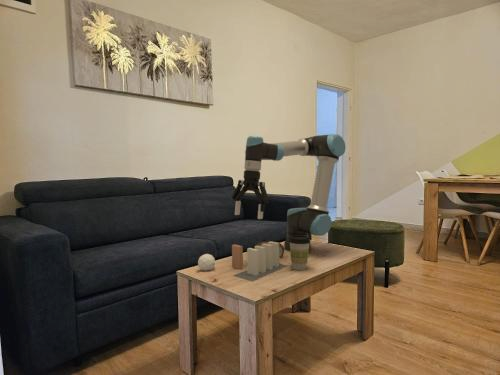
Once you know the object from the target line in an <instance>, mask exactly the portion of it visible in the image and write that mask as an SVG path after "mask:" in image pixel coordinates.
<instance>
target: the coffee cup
mask: <svg viewBox="0 0 500 375" xmlns="http://www.w3.org/2000/svg"><path fill="white" fill-rule="evenodd" d="M289 242H290V251H289V252H290V260H291V267H292V269H293V270H297V271H304V270H306V269H307V264H308V258H309V251H310V250H309V243H310V244H311V239H310V237H309V235H308V236H303V235H294V236H291V237H290V239H289Z"/></svg>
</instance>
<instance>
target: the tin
mask: <svg viewBox="0 0 500 375" xmlns="http://www.w3.org/2000/svg"><path fill="white" fill-rule="evenodd" d="M268 242H269V241H260V242H258V243H257V244H256V245H255V246H261V244H268ZM276 243H279V259H281V258H282V257H283V255H284V254H285V249H284V244H282V243H281V242H276Z"/></svg>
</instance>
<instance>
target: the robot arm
mask: <svg viewBox="0 0 500 375" xmlns="http://www.w3.org/2000/svg"><path fill="white" fill-rule="evenodd" d="M345 152H346V141H345V140H344V138H343V137H342V136H341V135H340V134H337V133H334V134H333V133H328V134H319V135H315V136H310V137H304V138H299V139H298V140H294V141H287V142H286V141H283V142H273V143H269V142H268V143H267V142H264V138H263V136H258V135H257V136H256V135H253V136H252V135H249V136H248V137H247V138H246V143H245V150H244V154H245V159H244V167H243V168H244V171H243V179H238V182H237V185H236V187H235V190H234V192H233V193H232V195H231V199H233V201H234V216H239V215H240V214H241V203H242V201H241V199H242V198H243V196H244V195H245V194H246V193H247V192H248V191H249V192H253V193H254V195H255V196H256V198H257V200H258V202H259V204H258V207H257V208H258V210H257V220H263V218H264V212H265V210H266V209H265V208H266V204H269V203H270V200H269V196H268V193H267V189H266V183H265V182H264V181H260V179H261V170H262V161H276V162H279V161H282V159H283V158H284V157H290V156H298V155H299V156H300V157H306V156H307V157H316V159H317V161H318V164H317V168H316V173H315V179H314V184H313V189H312V195H311V199H310V204H309V205H308V206H307V207H295V208H289V209H288V210H287V215H286V237H285V240H284V244H283V247H284V251H285V250H286V251H287V252H290V242H289V239H290V237H291V236H294V235H303V236H308V237H309V234H310V235H312V236H319V237H322V236H326V234H327V233H328V232H329V231H330V229H331V228H332V225H333V224H332V222H333V221H332V218H331V216H330V215H329V213H330V212H329V210H328V208H327V206H328V202H329V197H330V192H331V185H332V181H333V175H334V169H335V165H336V164H337V163H338V162H339V158H340V157H342V156H343V155H344V154H345ZM311 250H312V244H311V242H310V243H309V251H311Z"/></svg>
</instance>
